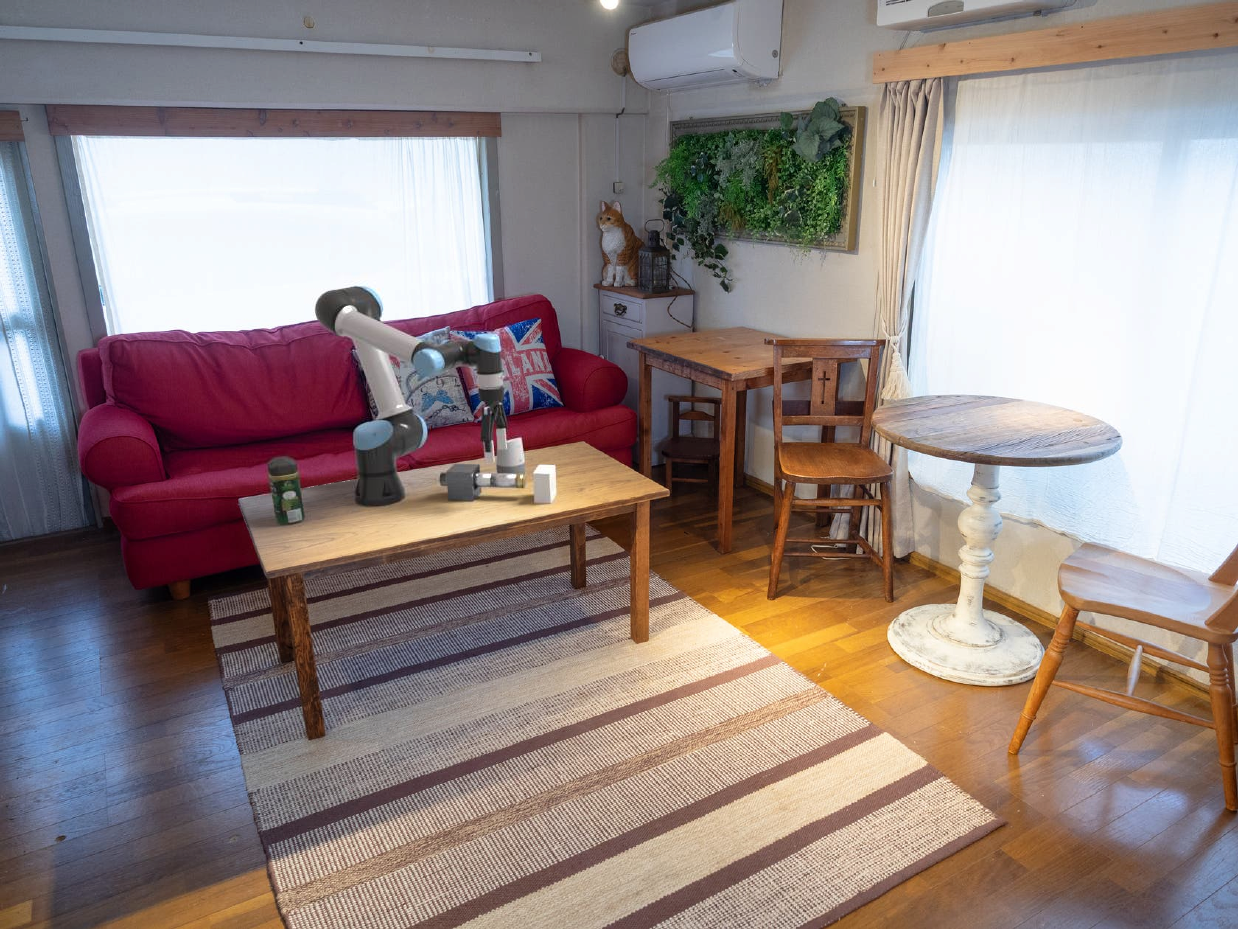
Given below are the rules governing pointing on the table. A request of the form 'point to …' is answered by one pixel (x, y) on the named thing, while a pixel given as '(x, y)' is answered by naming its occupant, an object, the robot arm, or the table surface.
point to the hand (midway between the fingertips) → (496, 455)
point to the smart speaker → (511, 458)
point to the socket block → (544, 484)
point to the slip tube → (493, 480)
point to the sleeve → (462, 482)
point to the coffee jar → (286, 490)
